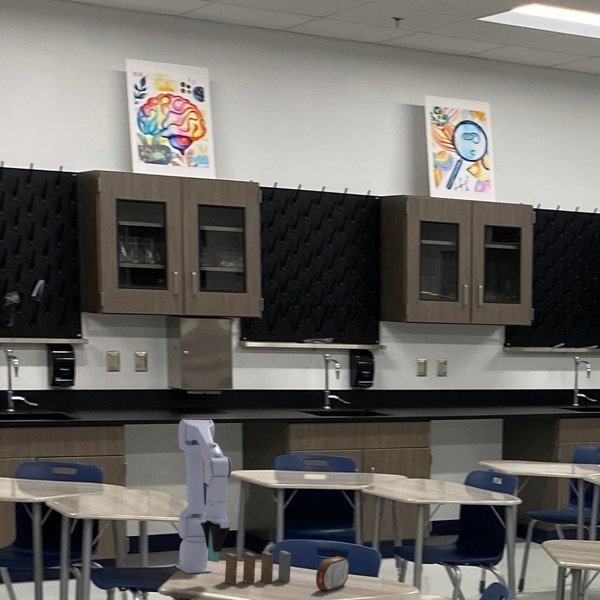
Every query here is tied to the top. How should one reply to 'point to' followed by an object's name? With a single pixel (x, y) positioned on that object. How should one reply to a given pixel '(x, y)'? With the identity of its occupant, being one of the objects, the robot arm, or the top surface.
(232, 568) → the domino
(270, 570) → the domino
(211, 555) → the teal rectangular block
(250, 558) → the domino
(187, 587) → the top surface
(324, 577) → the tin
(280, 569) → the domino
